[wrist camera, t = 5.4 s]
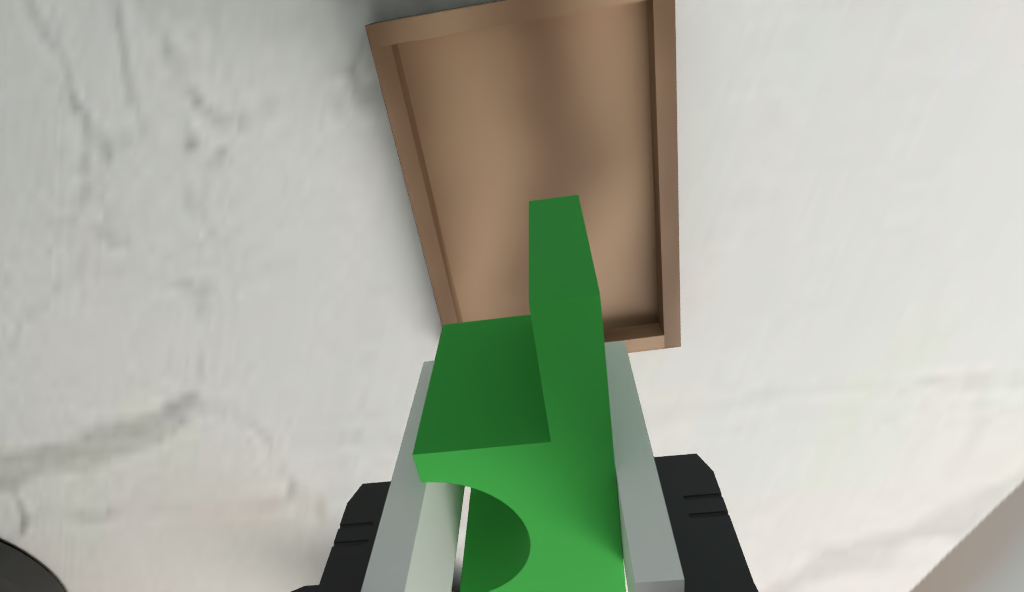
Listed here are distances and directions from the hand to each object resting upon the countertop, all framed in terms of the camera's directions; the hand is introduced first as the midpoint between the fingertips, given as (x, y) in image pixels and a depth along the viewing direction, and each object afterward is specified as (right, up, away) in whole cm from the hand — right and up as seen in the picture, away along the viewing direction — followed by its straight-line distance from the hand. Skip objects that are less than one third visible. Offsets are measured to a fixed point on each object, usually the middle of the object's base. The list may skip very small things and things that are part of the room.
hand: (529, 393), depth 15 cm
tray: (+1, +7, +11) cm, 14 cm away
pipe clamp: (0, 0, 0) cm, 0 cm away
